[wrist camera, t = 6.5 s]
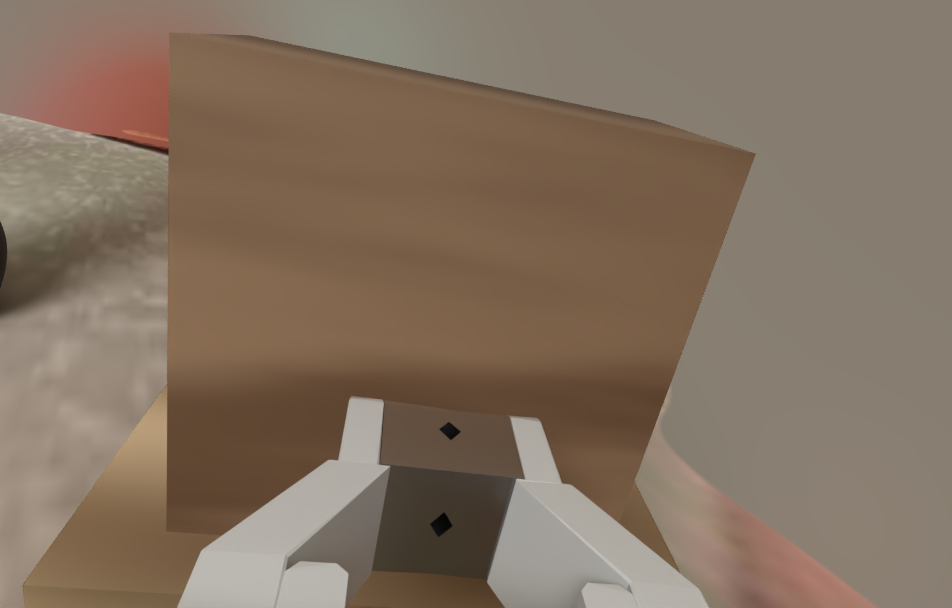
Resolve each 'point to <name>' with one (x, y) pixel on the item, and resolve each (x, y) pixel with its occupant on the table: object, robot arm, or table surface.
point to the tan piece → (175, 554)
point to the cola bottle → (2, 253)
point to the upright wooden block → (417, 265)
